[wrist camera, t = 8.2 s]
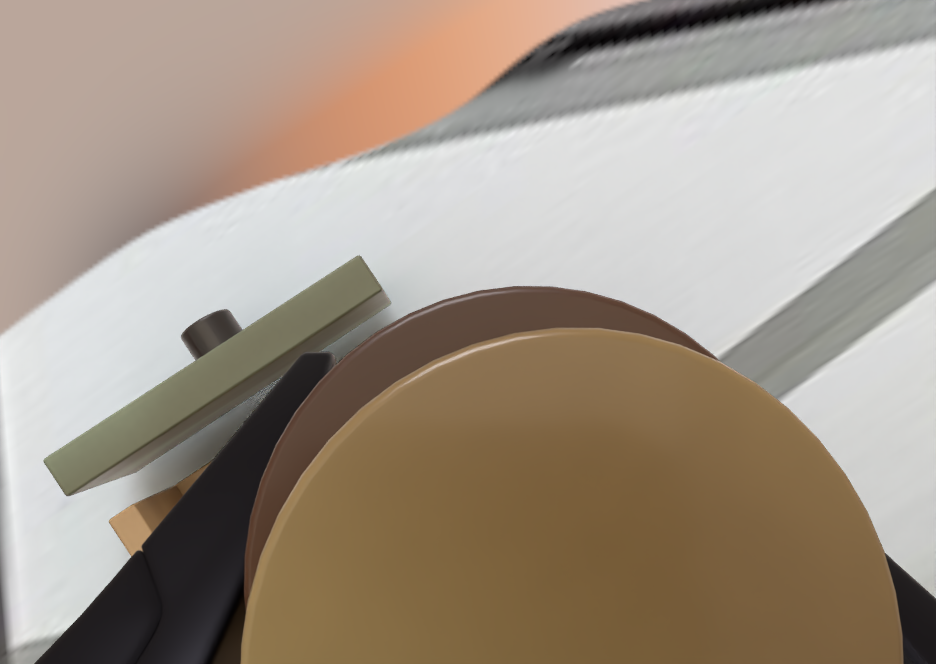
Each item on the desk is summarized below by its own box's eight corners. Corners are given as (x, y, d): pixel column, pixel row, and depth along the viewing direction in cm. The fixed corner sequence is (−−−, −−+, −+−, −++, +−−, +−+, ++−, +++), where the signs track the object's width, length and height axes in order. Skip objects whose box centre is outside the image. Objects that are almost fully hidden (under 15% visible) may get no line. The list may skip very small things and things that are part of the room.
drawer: (94, 412, 22) (15, 422, 18) (352, 245, 22) (334, 217, 18) (323, 759, 21) (298, 851, 17) (576, 579, 22) (609, 627, 18)
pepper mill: (493, 573, 14) (706, 1283, 3) (329, 464, 14) (-30, 807, 3) (599, 408, 14) (1128, 542, 4) (439, 300, 14) (468, 92, 3)
